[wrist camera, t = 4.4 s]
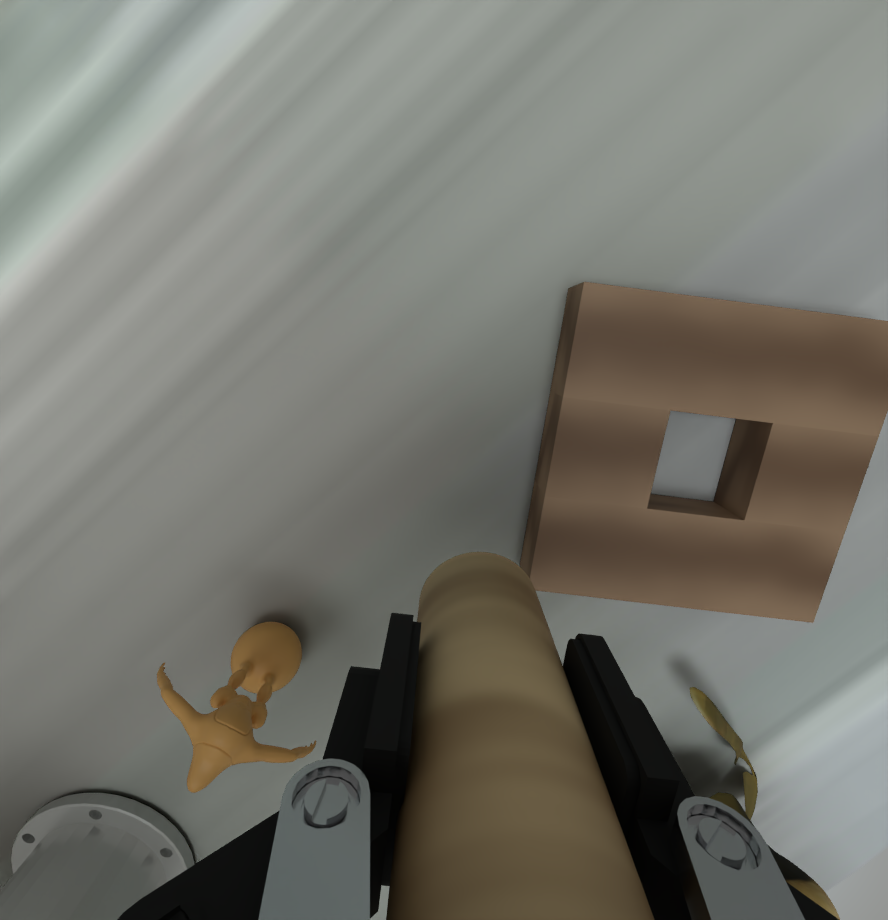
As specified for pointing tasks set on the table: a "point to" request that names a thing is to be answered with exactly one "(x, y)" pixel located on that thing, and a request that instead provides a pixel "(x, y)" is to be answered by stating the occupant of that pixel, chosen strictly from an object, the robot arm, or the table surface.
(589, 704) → the robot arm
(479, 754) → the peg
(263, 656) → the figurine
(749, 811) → the red green tall figure
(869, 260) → the table surface
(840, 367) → the socket block
